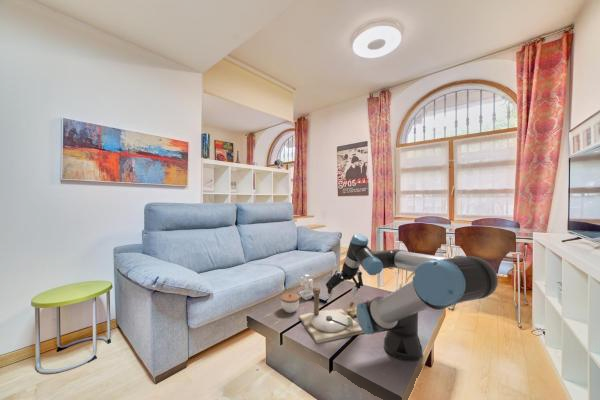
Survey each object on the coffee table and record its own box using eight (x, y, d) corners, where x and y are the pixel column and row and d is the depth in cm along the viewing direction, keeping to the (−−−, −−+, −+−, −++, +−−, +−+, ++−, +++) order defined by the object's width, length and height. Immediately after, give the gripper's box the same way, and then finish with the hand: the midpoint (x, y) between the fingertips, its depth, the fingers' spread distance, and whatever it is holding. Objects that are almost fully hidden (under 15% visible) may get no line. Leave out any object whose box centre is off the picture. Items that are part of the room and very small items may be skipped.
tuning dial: (357, 321, 122) (357, 292, 122) (337, 338, 108) (338, 306, 108) (323, 308, 136) (323, 283, 136) (302, 322, 121) (302, 293, 121)
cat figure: (355, 322, 127) (392, 310, 136) (354, 306, 127) (391, 295, 136) (345, 314, 136) (380, 303, 145) (344, 299, 136) (379, 289, 145)
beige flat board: (364, 332, 115) (364, 329, 115) (317, 343, 107) (317, 339, 107) (340, 310, 138) (340, 307, 138) (299, 317, 129) (299, 314, 129)
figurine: (316, 298, 154) (316, 275, 154) (304, 301, 149) (304, 277, 149) (309, 294, 160) (309, 272, 160) (297, 297, 155) (297, 274, 155)
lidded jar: (292, 316, 131) (292, 299, 131) (277, 311, 137) (277, 295, 136) (302, 308, 140) (302, 292, 140) (287, 304, 146) (287, 289, 145)
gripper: (369, 258, 123) (358, 289, 131) (325, 259, 115) (316, 292, 123) (377, 267, 117) (365, 300, 125) (331, 270, 108) (321, 304, 117)
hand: (340, 296), depth 124 cm, fingers open, 13 cm apart
